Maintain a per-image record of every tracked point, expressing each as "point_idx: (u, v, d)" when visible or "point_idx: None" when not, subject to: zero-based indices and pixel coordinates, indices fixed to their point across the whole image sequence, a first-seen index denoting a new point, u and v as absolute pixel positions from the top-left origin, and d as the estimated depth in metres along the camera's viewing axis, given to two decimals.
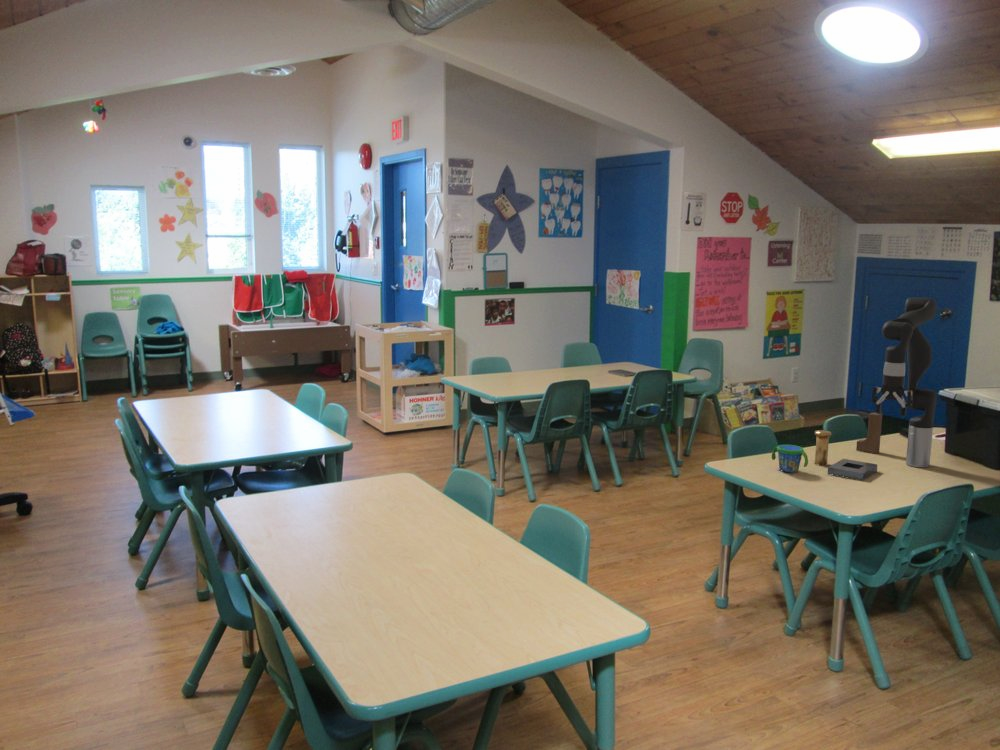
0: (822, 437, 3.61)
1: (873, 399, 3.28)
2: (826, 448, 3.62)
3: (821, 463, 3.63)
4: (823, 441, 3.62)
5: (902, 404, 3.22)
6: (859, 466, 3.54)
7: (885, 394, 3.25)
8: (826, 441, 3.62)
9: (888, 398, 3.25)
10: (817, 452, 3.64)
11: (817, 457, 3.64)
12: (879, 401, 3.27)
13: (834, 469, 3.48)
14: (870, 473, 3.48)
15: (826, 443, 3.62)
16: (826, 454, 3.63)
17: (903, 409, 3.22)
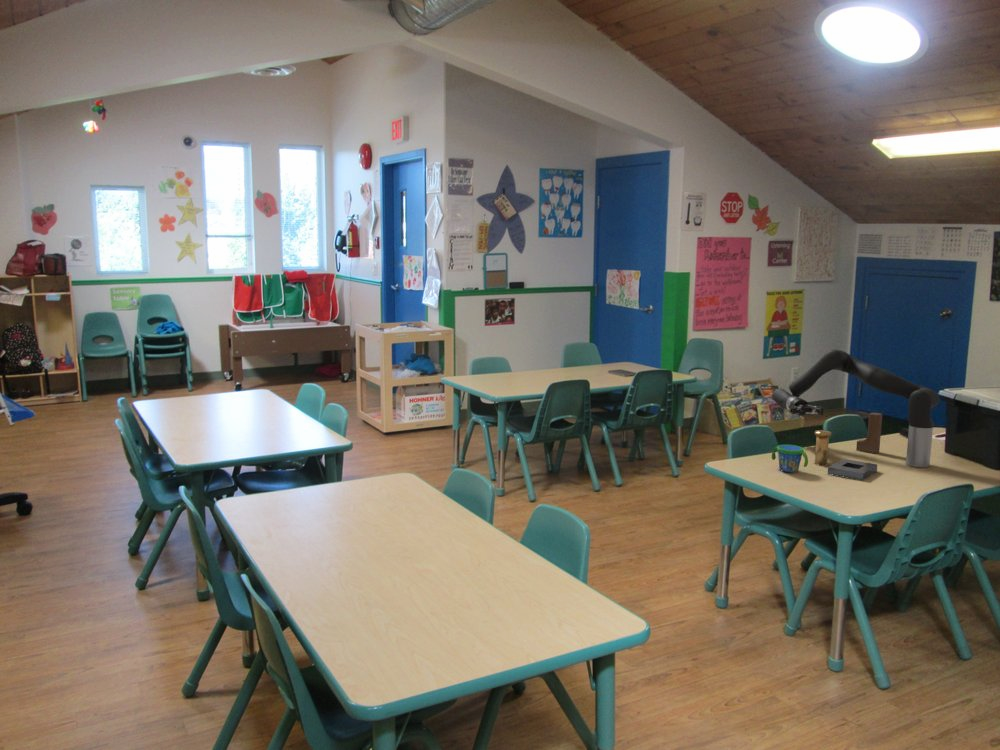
0: (822, 437, 3.61)
1: None
2: (826, 448, 3.62)
3: (821, 463, 3.63)
4: (823, 441, 3.62)
5: None
6: (859, 466, 3.54)
7: None
8: (826, 441, 3.62)
9: None
10: (817, 452, 3.64)
11: (817, 457, 3.64)
12: None
13: (834, 469, 3.48)
14: (870, 473, 3.48)
15: (826, 443, 3.62)
16: (826, 454, 3.63)
17: (799, 413, 3.76)
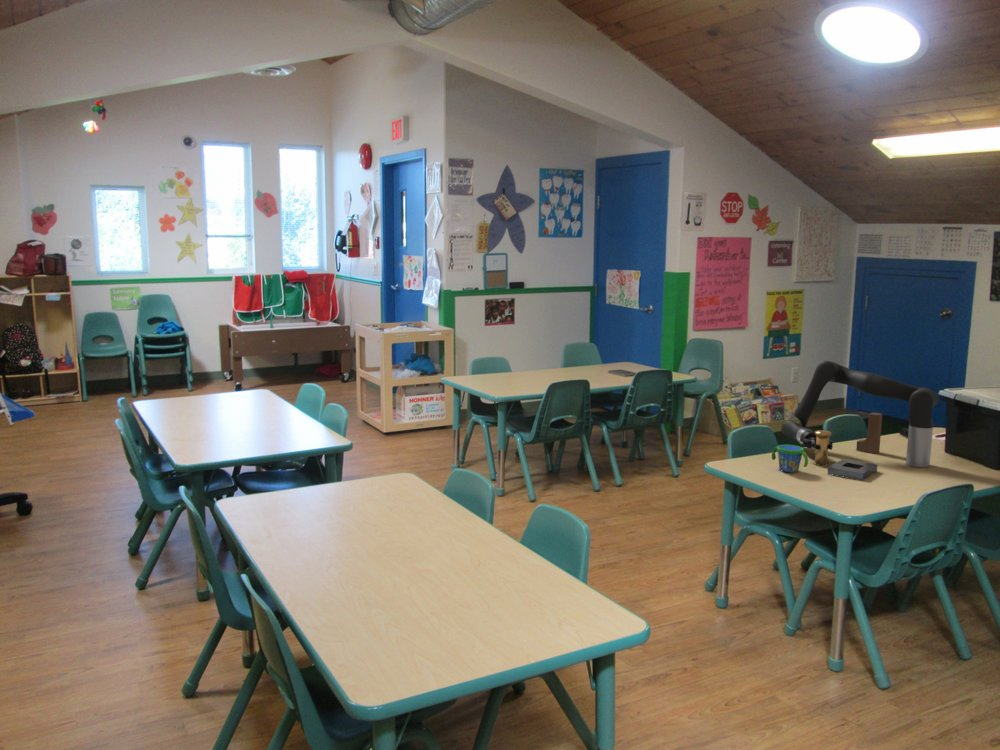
0: (822, 437, 3.61)
1: None
2: (826, 448, 3.62)
3: (821, 463, 3.63)
4: (823, 441, 3.62)
5: None
6: (859, 466, 3.54)
7: None
8: (826, 441, 3.62)
9: None
10: (817, 452, 3.64)
11: (817, 457, 3.64)
12: None
13: (834, 469, 3.48)
14: (870, 473, 3.48)
15: (826, 443, 3.62)
16: (826, 454, 3.63)
17: (814, 447, 3.65)
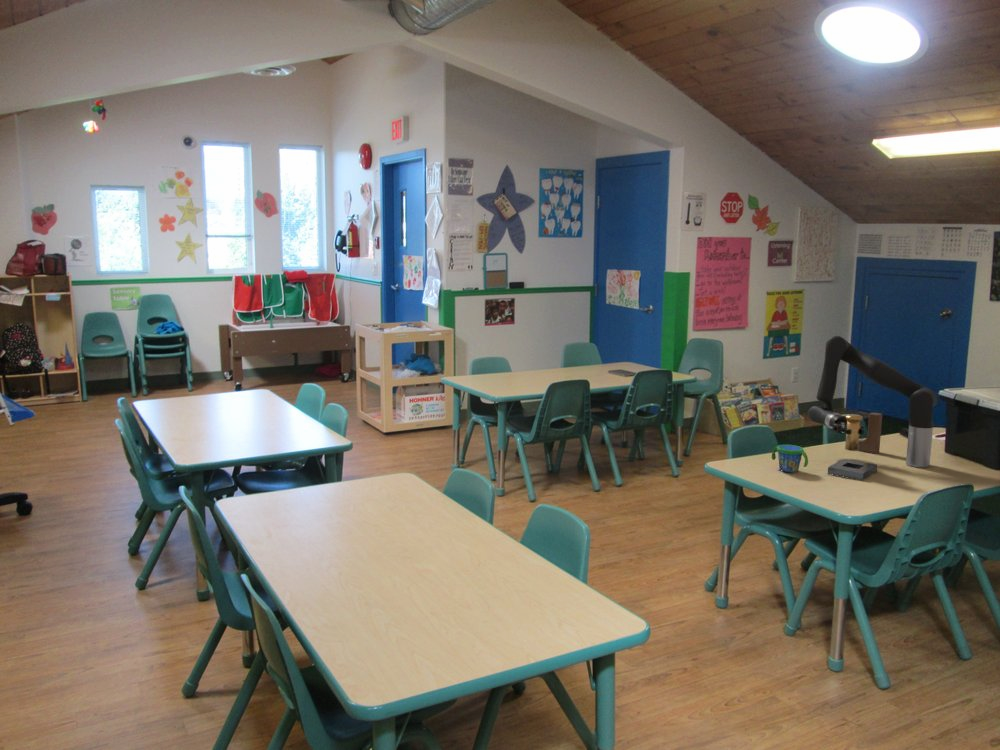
0: (853, 421, 3.48)
1: None
2: (857, 433, 3.48)
3: (852, 448, 3.49)
4: (854, 425, 3.48)
5: None
6: (859, 466, 3.54)
7: None
8: (857, 425, 3.48)
9: None
10: (848, 437, 3.50)
11: (848, 442, 3.50)
12: None
13: (834, 469, 3.48)
14: (870, 473, 3.48)
15: (857, 427, 3.48)
16: (857, 439, 3.49)
17: (845, 432, 3.51)
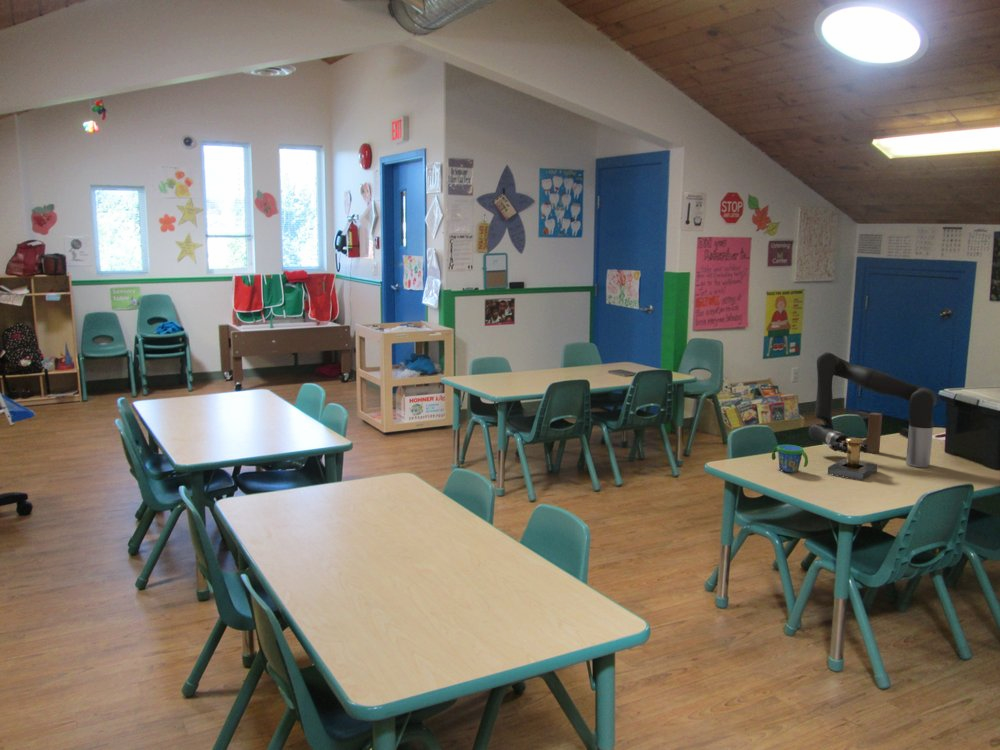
0: (853, 445, 3.48)
1: None
2: (858, 456, 3.49)
3: None
4: (855, 449, 3.48)
5: None
6: (859, 466, 3.54)
7: None
8: (858, 449, 3.49)
9: None
10: (848, 460, 3.51)
11: (848, 465, 3.51)
12: None
13: (834, 469, 3.48)
14: (870, 473, 3.48)
15: (858, 451, 3.49)
16: (858, 462, 3.50)
17: (842, 451, 3.52)
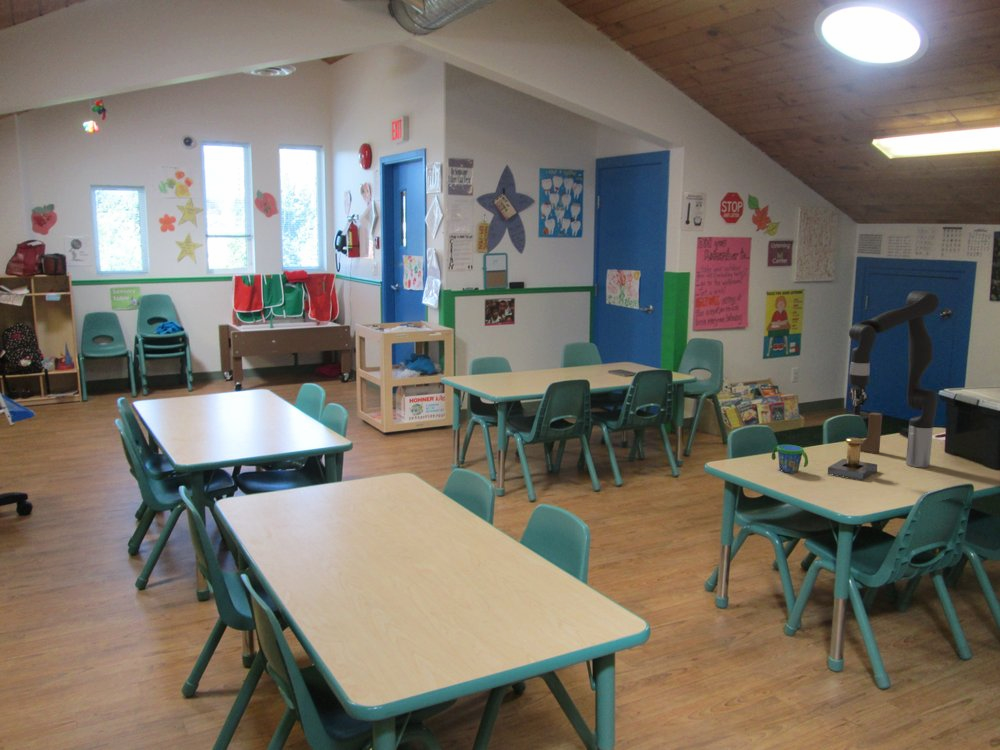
0: (854, 445, 3.48)
1: (851, 400, 3.50)
2: (858, 456, 3.49)
3: None
4: (855, 449, 3.48)
5: (854, 403, 3.47)
6: (859, 466, 3.54)
7: (852, 392, 3.48)
8: (858, 449, 3.48)
9: None
10: (848, 460, 3.51)
11: (848, 466, 3.51)
12: (854, 402, 3.48)
13: (834, 469, 3.48)
14: (870, 473, 3.48)
15: (858, 451, 3.49)
16: (858, 462, 3.50)
17: (855, 407, 3.47)
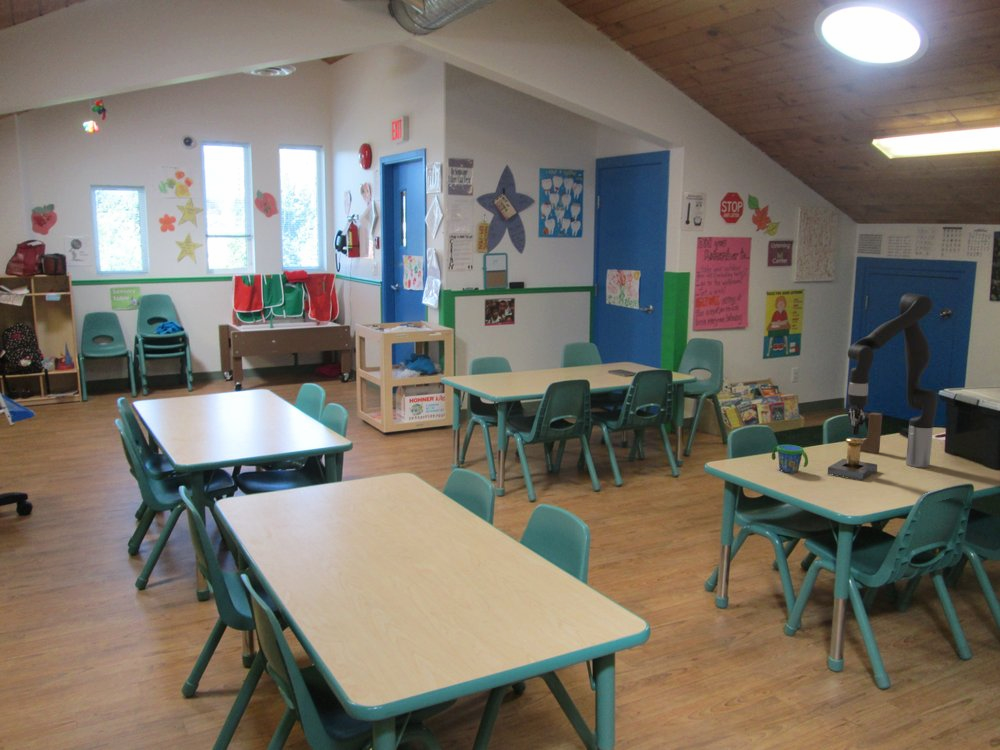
0: (854, 445, 3.48)
1: (850, 420, 3.51)
2: (858, 456, 3.49)
3: None
4: (855, 449, 3.48)
5: (853, 422, 3.48)
6: (859, 466, 3.54)
7: (850, 412, 3.49)
8: (858, 449, 3.48)
9: None
10: (848, 460, 3.51)
11: (848, 466, 3.51)
12: (852, 422, 3.49)
13: (834, 469, 3.48)
14: (870, 473, 3.48)
15: (858, 451, 3.49)
16: (858, 462, 3.50)
17: (854, 427, 3.48)
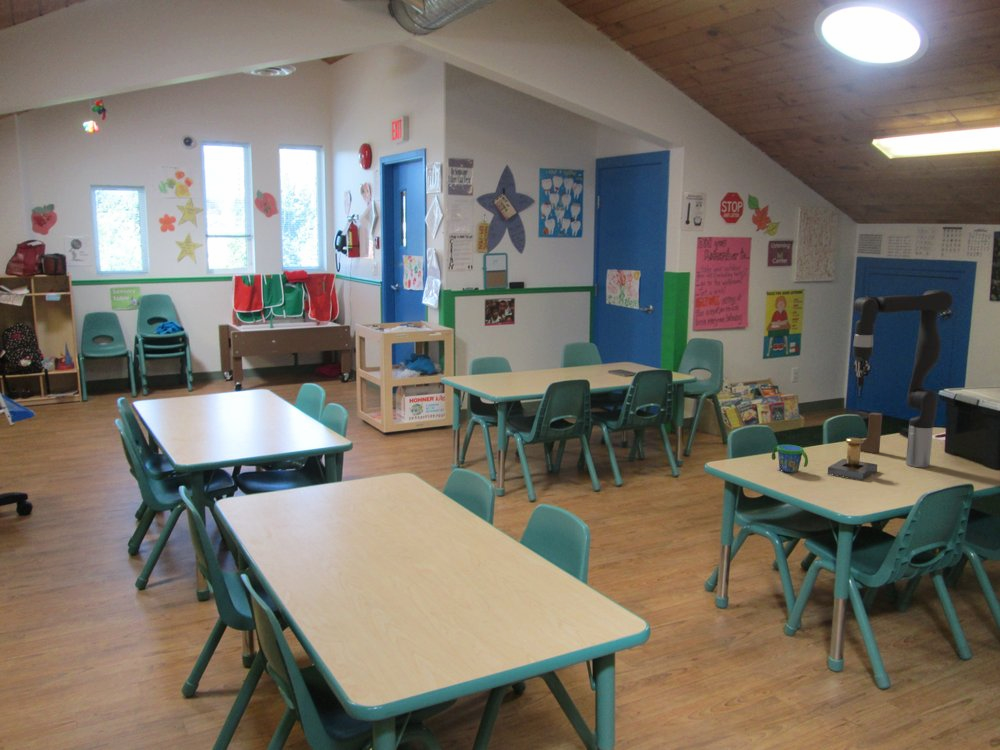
0: (854, 445, 3.48)
1: (855, 372, 3.58)
2: (858, 456, 3.49)
3: None
4: (855, 449, 3.48)
5: (858, 374, 3.55)
6: (859, 466, 3.54)
7: (856, 364, 3.56)
8: (858, 449, 3.48)
9: None
10: (848, 460, 3.51)
11: (848, 466, 3.51)
12: (857, 374, 3.56)
13: (834, 469, 3.48)
14: (870, 473, 3.48)
15: (858, 451, 3.49)
16: (858, 462, 3.50)
17: (859, 379, 3.55)
